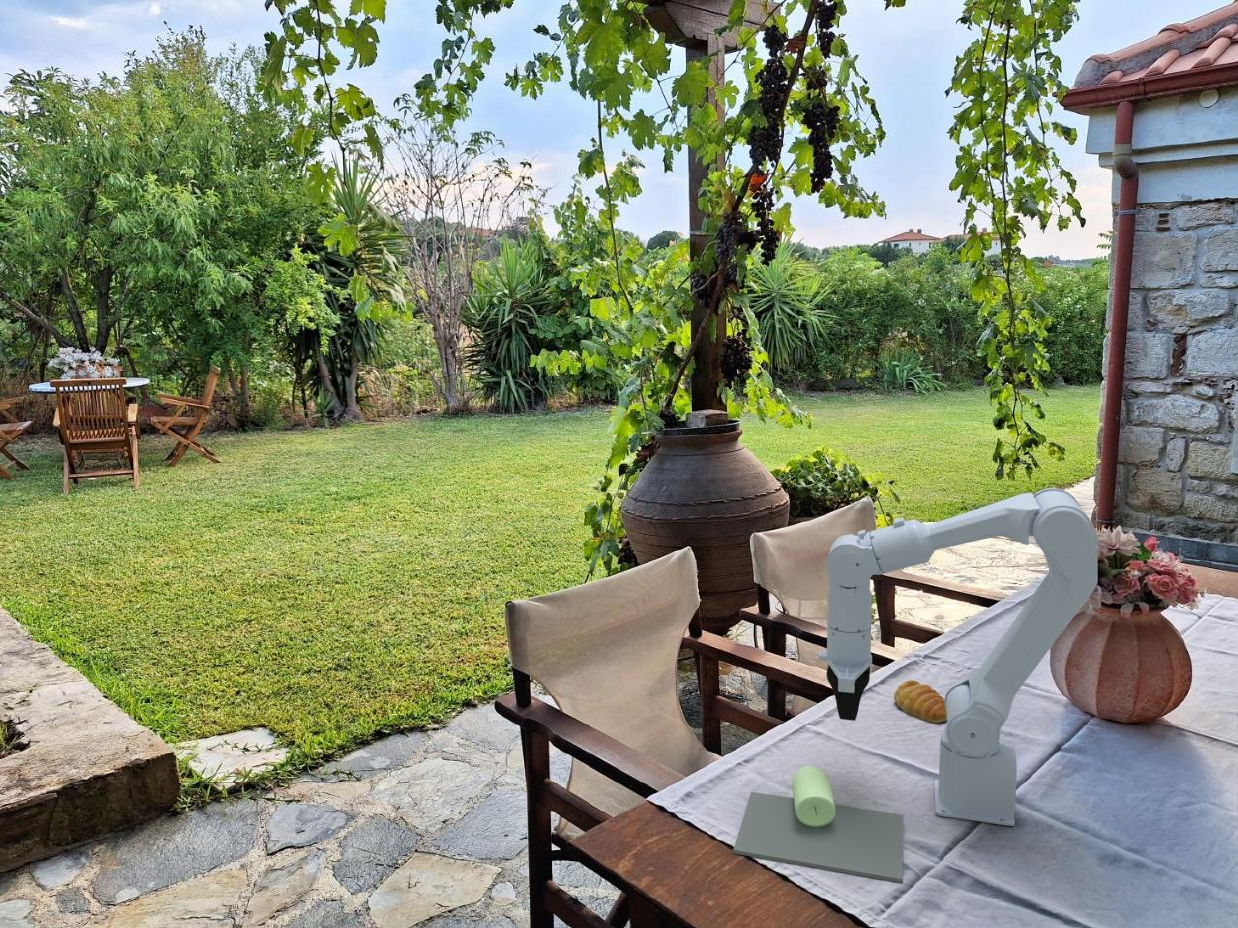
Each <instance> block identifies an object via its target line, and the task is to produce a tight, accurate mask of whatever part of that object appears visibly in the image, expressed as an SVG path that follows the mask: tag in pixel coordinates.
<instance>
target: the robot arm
mask: <svg viewBox="0 0 1238 928" xmlns="http://www.w3.org/2000/svg"><path fill="white" fill-rule="evenodd" d="M997 537H1003V538H1006V539H1009V540H1011V541H1014V542H1016V543H1020V544H1022V545H1024V546H1029V544H1030V543H1029V540H1030V539H1029V538H1030V537H1033V540H1034V541H1035V543H1036V544H1037V546H1038V547H1039V548H1040V550H1041V551H1042V553H1043V555H1044V557H1045V558H1044V559H1045V562H1046V564H1047V567H1048V573H1047V574H1046V576H1045V577H1044V578H1043V580H1042V581H1041V583H1040V584H1039V585H1038V587H1037V588H1036V589H1035V591H1034V592H1033V593H1032V595H1031V596H1030V597H1029V599H1028V601H1027V602H1026V603H1025V605H1024V606H1023V607H1022V609H1021V610H1020V611H1019V613H1018V614H1017V616H1016V617H1015V618H1014V620H1013V621H1012V622H1011V624H1010V626H1009V627H1008V628H1007V630H1006V631H1005V632H1004V634H1003V635H1002V636H1001V638H1000V639H999V641H998V642H997V644H996V645H995V646H994V648H993V649H992V650H991V652H990V653H989V654H988V656H987V657H986V659H985V660H984V662H983V663H982V664H981V666H979V667H977V668H974V669H972V670H970V672H969V673H968V675H967V676H966V677H965V678H964V679H963V680H961V681H959V682H956V683H954V684H953V685H951V687H949V688H948V690H947V691H946V693H945V694H944V697H943V699H944V705H945V709H946V718H947V720H946V726H945V728H944V729H943V730H942V731H941V732H940V742H939V745H940V746H939V765H938V767H939V768H938V779H935V780H934V782H933V789H934V807H935V811H934V812H935V814H936V815H938V816H942V817H948V818H954V819H962V820H969V821H974V822H981V823H988V824H995V825H1002V826H1009V827H1014V826H1015V814H1016V813H1015V812H1016V811H1015V810H1016V801H1017V777H1018V776H1017V775H1018V773H1017V772H1018V770H1017V767H1018V765H1017V764H1018V763H1017V753H1016V748H1015V747H1014V746H1012V745H1007V744H1004V743H1001V742H1000V737H1001V730H1002V727H1003V726H1004V724H1005V723H1006V721H1007V719H1009V715H1010V711H1011V708H1012V705H1013V701H1014V697H1015V696H1016V694H1017V693H1018V691H1019V690H1020V689H1021V688H1022V687H1023V685H1024V683H1025V682H1026V681H1027V680H1028V679H1029V677H1030V676H1031V674H1032V673H1033V671H1034V670H1035V669H1036V668H1037V666H1038V665H1039V664H1040V663H1041V661H1042V660H1043V658H1044V657H1045V656H1046V655H1047V653H1048V652H1049V650H1050V649H1051V648H1052V646H1053V645H1054V644H1055V643H1056V641H1057V640H1058V639H1059V637H1060V636H1061V634H1062V633H1063V632H1064V630H1065V629H1066V628H1067V626H1068V625H1070V622H1071V621H1072V619H1073V618H1074V617H1075V616H1076V614H1077V613H1078V611H1080V609H1081V608H1082V606H1083V605H1084V603H1086V601H1087V600H1088V599H1089V597H1090V596H1091V594H1092V593H1093V592H1094V590H1095V589H1096V587H1097V585H1098V581H1099V580H1098V579H1099V578H1098V576H1099V575H1098V570H1099V569H1098V546H1099V543H1100V538H1099V536H1098V533H1097V531H1096V529H1095V527H1094V525H1093V522H1092V521H1091V519H1090V516H1088V514H1087V513H1086V512H1085V511H1084V510H1083V509H1082V508H1081V506H1080V503H1079V502H1078V501H1077V499H1076V498H1075V497H1074V495H1072V494H1071V493H1070V492H1068V491H1066V490H1064V489H1061V488H1057V487H1056V488H1055V487H1054V488H1053V487H1049V488H1044V489H1041V490H1039V491H1037V492H1035V493H1034V494H1033V492H1027V493H1021V494H1020V493H1019V494H1017V495H1015V496H1012V497H1009V498H1005V499H1003V500H1000V501H997V502H995V503H994V502H993V503H992V504H988V505H986V506H982V507H978V508H976V509H973V510H970V511H967V512H964V513H961V514H958V515H955V516H951V517H948V518H945V519H943V520H940V521H936V522H934V523H933V522H932V523H930V524H926V523H923V522H921V521H919V520H916V519H910V520H907V521H905V518H904V517H899V518H895V519H893V524H891V525H889V526H888V525H887V526H886V527H881V528H879V529H874V530H871V531H868V532H867V531H866V529H863V530H859V531H857V534H856V535H855V534H843V535H841V536H840V537H837V538H836V539H835V540H834V541H833V543H832V544H831V546H830V549H829V552H828V555H827V558H826V572H827V574H828V576H829V578H828V582H827V583H828V584H827V585H828V587H829V589H828V590H827V610H826V611H827V617H826V619H827V625H826V626H827V628H826V630H827V632H826V635H827V637H826V641H827V642H826V649H820V650H818V654H817V659H818V660H819V661H822V662H823V661H824V662H826V663H827V669H826V679H827V682H828V684H829V685H830V687H831V689H832V691H833V694H834V699H835V703H836V708H837V714H838V717H839V720H844V721H853V722H855V721H856V719H857V717H858V712H859V707H860V703H861V699H862V696H863V693H864V691H865V689H866V687H868V685H869V682H870V678H871V677H870V675H871V666H872V665H873V656H872V653H871V651H872V614H873V613H872V603H873V600H872V599H873V594H872V591H871V577H872V576H873V575H875V576H876V575H877V576H878V575H879V576H880V575H884V574H888V573H891V572H895V571H899V570H903V569H906V568H911V567H914V566H919V565H922V564H926V563H928V562H929V561H930V560H931V557H932V556H933V555H934V553H935V552H936V551H937V550H942V549H946V548H951V547H955V546H959V545H964V544H969V543H974V542H978V541H984V540H988V539H992V538H997Z"/></svg>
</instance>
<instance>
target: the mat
mask: <svg viewBox="0 0 1238 928" xmlns="http://www.w3.org/2000/svg"><path fill="white" fill-rule="evenodd" d="M834 805H835V810H836V811H835V816H834V818H833V820H832V821H831V822H830V823H828V824H826V825H824V826H820V827H812V826H808V825H805V824H803V823H802V822H801V821H800V820H799V819H798V818H797V815H796V811H795V802H794V797H788V796H782V795H776V794H775V795H774V794H770V793H763V792H755V791H751V792H750V795H749V798H748V801H747V804H746V807H745V811H744V813H743V816H742V817H743V818H742V821H741V824H740V827H739V831H738V834H737V837H736V841H735V843H734V847H733V855H734V854H735V855H739V856H740V855H741V856H747V857H751V858H752V857H753V858H758V859H763V860H770V861H773V862H782V863H787V864H792V865H798V866H804V867H809V868H813V869H814V868H816V869H821V870H826V871H832V872H839V873H843V874H844V873H845V874H849V875H854V876H860V877H868V878H873V879H878V880H884V881H888V882H895V883H900V884H901V883H902V884H903V883H904V818H905V817H904V816H905V815H904V814H901V813H895V812H887V811H881V810H874V809H868V808H861V807H856V806H855V807H854V806H848V805H842V804H835V803H834Z"/></svg>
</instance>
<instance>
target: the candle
mask: <svg viewBox="0 0 1238 928" xmlns="http://www.w3.org/2000/svg"><path fill="white" fill-rule="evenodd" d="M792 791H793V793H792V794H793V798H794V802H795V811H796V815H797V818H798V819H799V820H800V821H801V822H802V823H803V824H805V825H808V826H812V827H820V826H824V825H826V824H828V823H830V822H831V821H832V820H833V818H834V816H835V811H836V810H835V805H834V804H835V801H834V795H833V791H832V786H831V782H830V778H829V776H828V774H827V773H826V772H825V771H824V770H823V769H821V768H820V767H816V766H812V765H811V766H804V767H802V768H800V769H798V770H797V771H796V772H795V773H794V775H793V777H792Z"/></svg>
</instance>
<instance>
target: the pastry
mask: <svg viewBox="0 0 1238 928" xmlns="http://www.w3.org/2000/svg"><path fill="white" fill-rule="evenodd" d="M893 699H894V702H895V704H897V707H898V708H900V709H901V710H902V711H903V712H904V713H907V714H908V715H911V716H913V717H915V718H917V719H920V720H922V721H925V722H928V723H929V722H930V723H933V724H937V723H938V724H939V723H942V722H947V718H946V709H945V705H944V697H943V696H942V695H941V694H940V693H939V692H938V691H936V689H934V688H932V687H931V686H930V685H928V684H921V683H919V681H917V680H913V679H912V680H911V679H910V680H906V681H904V682H903V683H902V684H900V685H899V686H898V687H897V688H896V691H895V693H894V695H893Z"/></svg>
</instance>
